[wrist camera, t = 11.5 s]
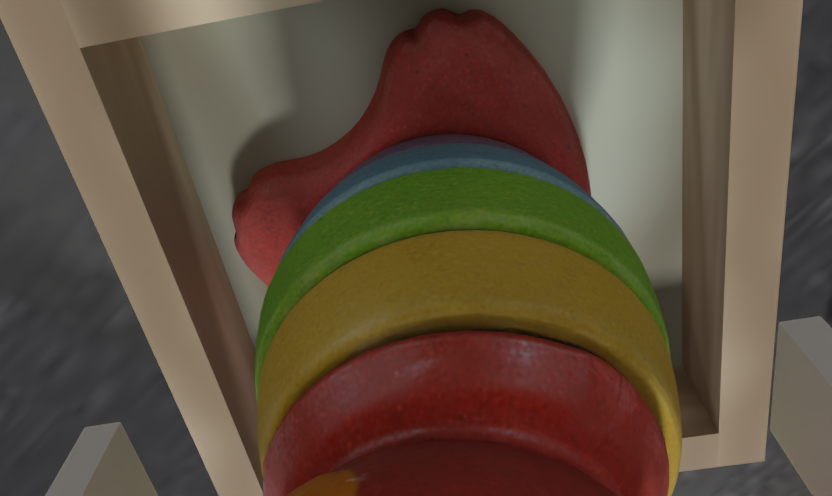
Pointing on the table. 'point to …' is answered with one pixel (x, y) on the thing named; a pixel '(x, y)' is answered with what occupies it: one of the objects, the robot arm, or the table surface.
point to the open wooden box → (345, 105)
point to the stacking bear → (454, 295)
